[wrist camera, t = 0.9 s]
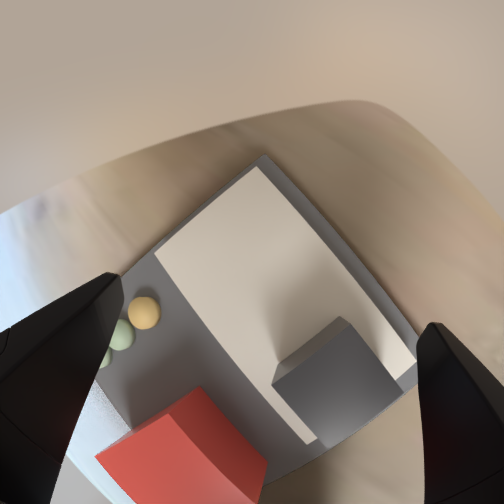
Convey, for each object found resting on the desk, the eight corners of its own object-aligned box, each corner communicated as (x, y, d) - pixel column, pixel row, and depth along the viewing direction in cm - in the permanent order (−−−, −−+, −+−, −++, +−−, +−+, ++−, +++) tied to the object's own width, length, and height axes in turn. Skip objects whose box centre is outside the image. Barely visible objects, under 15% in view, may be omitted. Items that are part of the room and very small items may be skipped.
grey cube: (383, 371, 14) (404, 392, 10) (323, 417, 14) (327, 448, 11) (339, 315, 15) (350, 323, 11) (277, 364, 15) (271, 385, 11)
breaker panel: (430, 360, 16) (448, 370, 13) (211, 501, 17) (200, 522, 14) (266, 160, 19) (261, 141, 17) (76, 330, 20) (53, 333, 18)
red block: (267, 462, 16) (257, 505, 11) (193, 496, 16) (169, 534, 12) (199, 385, 17) (168, 413, 12) (132, 429, 18) (94, 456, 13)
